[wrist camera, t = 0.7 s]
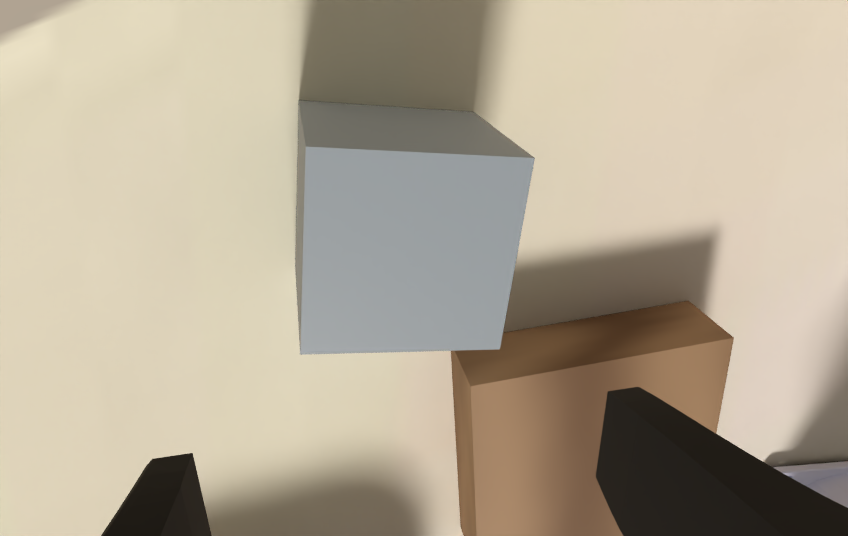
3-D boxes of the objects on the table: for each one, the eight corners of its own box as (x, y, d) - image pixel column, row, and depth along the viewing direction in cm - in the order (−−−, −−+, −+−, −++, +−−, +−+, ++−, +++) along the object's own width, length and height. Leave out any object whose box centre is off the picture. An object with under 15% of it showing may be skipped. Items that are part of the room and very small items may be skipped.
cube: (472, 111, 18) (534, 158, 14) (451, 266, 20) (499, 349, 16) (298, 99, 17) (305, 146, 13) (295, 265, 19) (300, 354, 15)
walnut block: (682, 295, 23) (733, 337, 21) (657, 475, 27) (698, 530, 25) (447, 335, 22) (470, 386, 19) (458, 518, 26) (478, 581, 23)
